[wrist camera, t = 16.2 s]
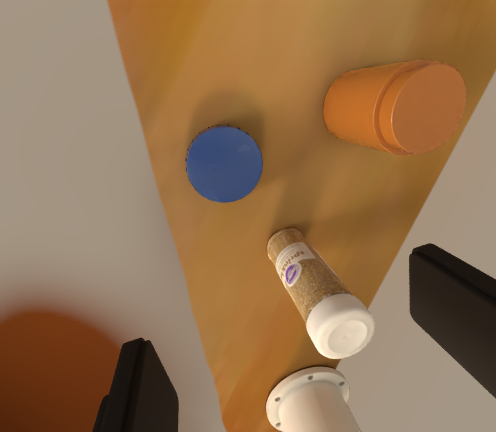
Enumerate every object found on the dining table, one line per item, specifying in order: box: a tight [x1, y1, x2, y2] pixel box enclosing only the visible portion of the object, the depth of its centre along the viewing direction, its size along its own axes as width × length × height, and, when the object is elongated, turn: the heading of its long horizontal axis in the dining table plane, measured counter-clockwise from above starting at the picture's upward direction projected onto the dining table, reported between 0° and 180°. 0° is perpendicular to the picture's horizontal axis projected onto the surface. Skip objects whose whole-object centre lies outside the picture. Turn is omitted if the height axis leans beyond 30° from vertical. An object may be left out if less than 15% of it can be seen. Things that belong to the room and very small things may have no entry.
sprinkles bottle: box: [267, 228, 375, 359], centre depth 26 cm, size 5×5×14 cm
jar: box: [323, 59, 467, 156], centre depth 23 cm, size 6×6×9 cm
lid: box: [186, 125, 263, 202], centre depth 26 cm, size 7×7×2 cm
